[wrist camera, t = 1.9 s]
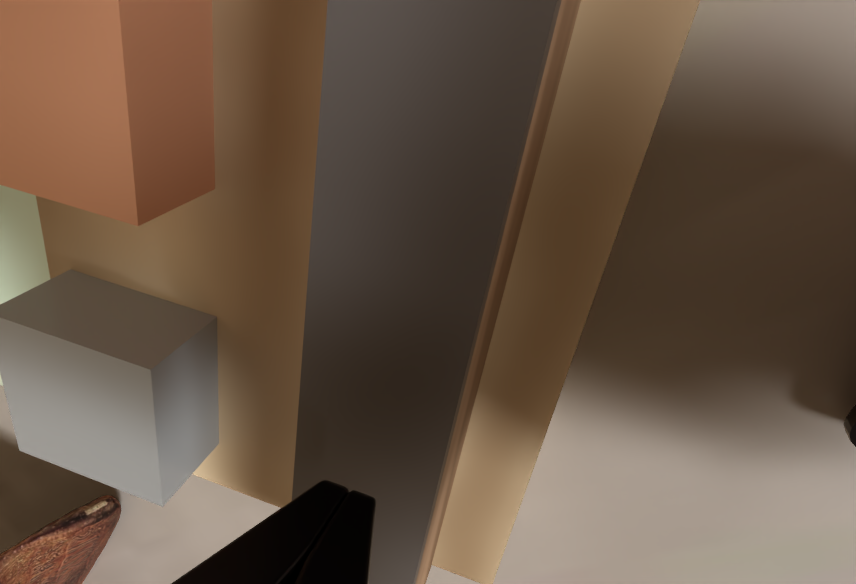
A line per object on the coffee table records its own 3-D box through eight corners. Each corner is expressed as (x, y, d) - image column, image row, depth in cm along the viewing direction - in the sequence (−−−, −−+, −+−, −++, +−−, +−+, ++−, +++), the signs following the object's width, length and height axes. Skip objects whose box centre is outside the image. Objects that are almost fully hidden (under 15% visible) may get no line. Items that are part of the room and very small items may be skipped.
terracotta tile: (211, -33, 11) (114, -39, 9) (214, 188, 13) (138, 226, 11) (17, -74, 12) (-114, -87, 10) (50, 142, 14) (-51, 169, 12)
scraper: (603, -78, 9) (589, -130, 5) (431, 565, 17) (375, 734, 13) (454, -103, 10) (339, -169, 6) (354, 536, 17) (277, 691, 14)
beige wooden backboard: (698, -46, 11) (719, -57, 9) (508, 508, 19) (491, 587, 17) (89, -154, 14) (-32, -186, 11) (141, 378, 22) (77, 430, 19)
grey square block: (217, 316, 15) (150, 369, 13) (218, 443, 17) (162, 507, 15) (70, 269, 16) (-15, 312, 14) (90, 396, 18) (19, 450, 16)
